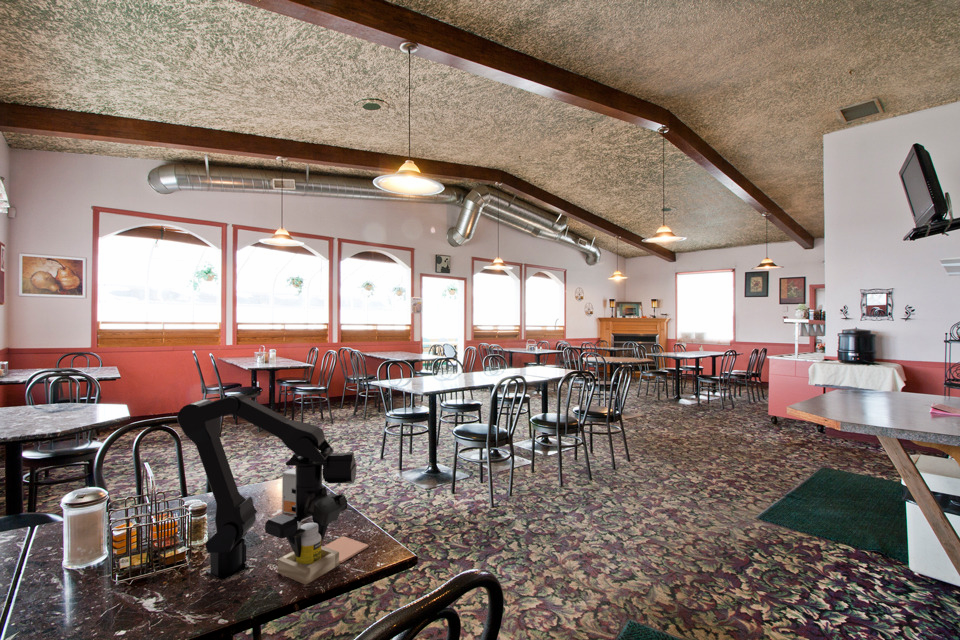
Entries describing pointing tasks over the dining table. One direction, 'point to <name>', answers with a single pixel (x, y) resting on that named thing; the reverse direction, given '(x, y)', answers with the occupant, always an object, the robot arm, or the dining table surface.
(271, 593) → the dining table surface
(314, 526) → the supplement bottle
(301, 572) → the pocket block
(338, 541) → the tile
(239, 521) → the robot arm
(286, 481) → the skincare box
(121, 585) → the dining table surface
